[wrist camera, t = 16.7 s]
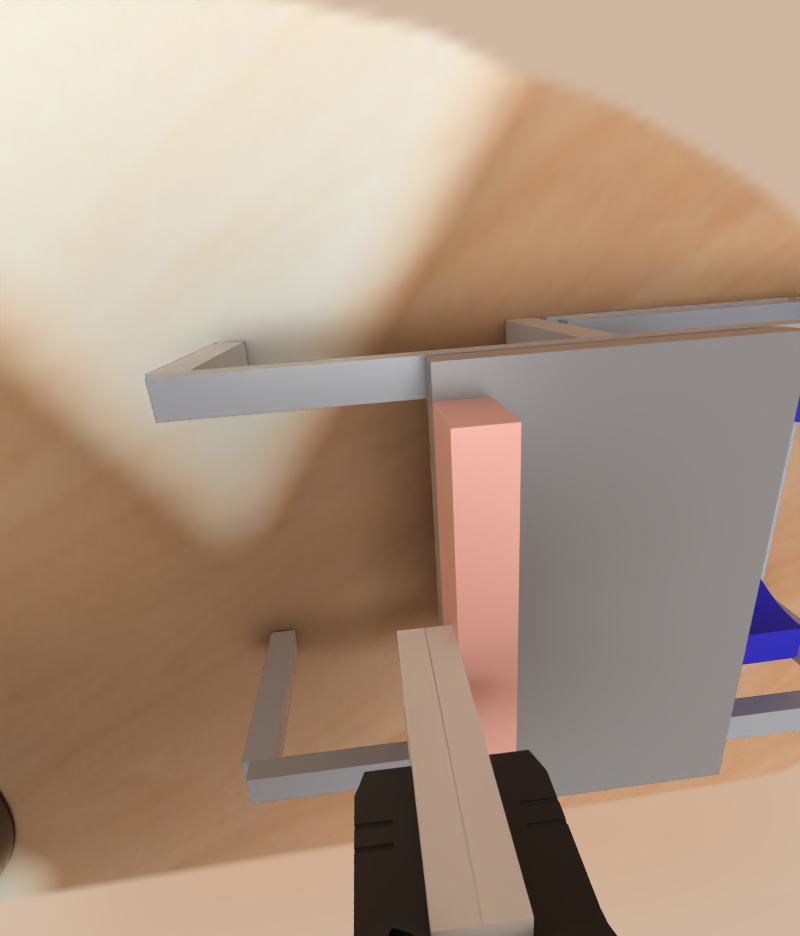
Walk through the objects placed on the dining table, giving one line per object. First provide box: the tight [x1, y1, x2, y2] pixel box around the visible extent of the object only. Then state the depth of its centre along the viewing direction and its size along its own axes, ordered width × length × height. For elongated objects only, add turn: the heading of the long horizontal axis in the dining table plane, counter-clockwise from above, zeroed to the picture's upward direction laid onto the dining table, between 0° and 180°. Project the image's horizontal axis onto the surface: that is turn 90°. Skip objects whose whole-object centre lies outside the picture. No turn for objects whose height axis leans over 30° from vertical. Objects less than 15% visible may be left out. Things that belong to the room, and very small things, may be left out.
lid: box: [425, 326, 800, 797], centre depth 15 cm, size 10×16×4 cm, turn 4°
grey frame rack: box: [145, 296, 800, 804], centre depth 21 cm, size 26×16×8 cm, turn 94°
